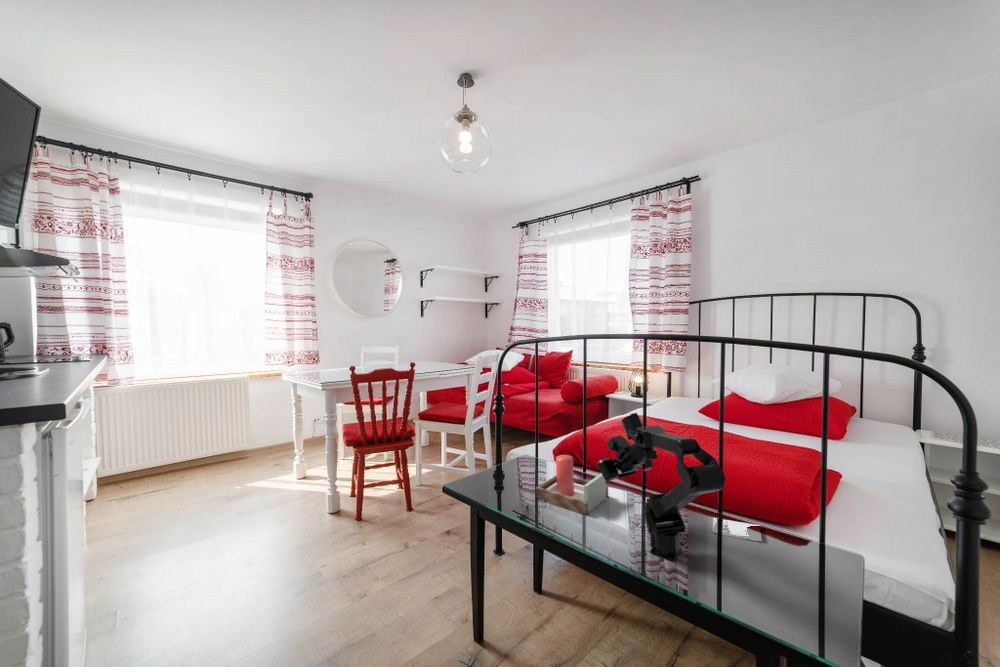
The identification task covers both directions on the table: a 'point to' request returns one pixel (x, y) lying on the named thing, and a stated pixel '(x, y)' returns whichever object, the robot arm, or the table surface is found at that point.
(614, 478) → the robot arm
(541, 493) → the drawer
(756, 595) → the table surface
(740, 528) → the external hard drive
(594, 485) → the tray
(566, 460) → the pink cylinder
